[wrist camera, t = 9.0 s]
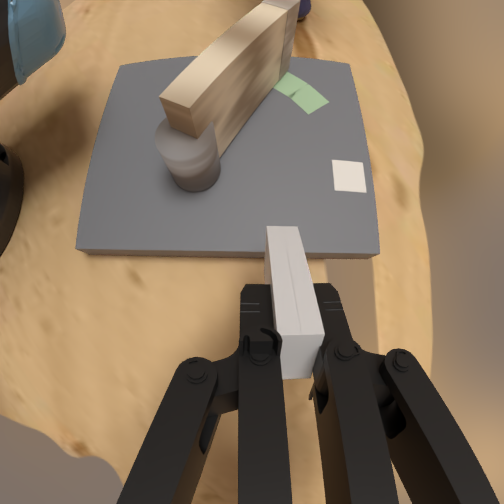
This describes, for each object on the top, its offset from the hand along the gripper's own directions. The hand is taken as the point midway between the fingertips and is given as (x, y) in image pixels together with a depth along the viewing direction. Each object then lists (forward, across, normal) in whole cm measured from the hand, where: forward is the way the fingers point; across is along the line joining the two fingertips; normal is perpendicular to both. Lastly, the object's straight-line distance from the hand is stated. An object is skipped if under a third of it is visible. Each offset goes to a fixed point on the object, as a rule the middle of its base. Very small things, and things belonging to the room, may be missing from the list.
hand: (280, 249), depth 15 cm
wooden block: (+12, -3, +5) cm, 13 cm away
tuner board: (+13, -3, +2) cm, 14 cm away
